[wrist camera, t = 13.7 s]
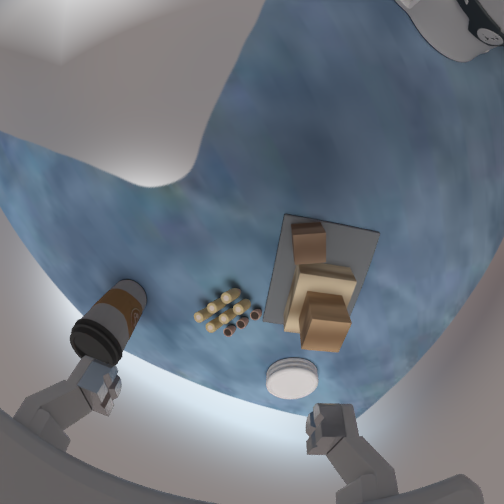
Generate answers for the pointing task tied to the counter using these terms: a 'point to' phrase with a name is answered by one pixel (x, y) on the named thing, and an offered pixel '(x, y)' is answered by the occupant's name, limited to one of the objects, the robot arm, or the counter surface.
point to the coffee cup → (109, 323)
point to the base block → (316, 288)
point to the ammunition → (227, 312)
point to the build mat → (337, 253)
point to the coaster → (291, 378)
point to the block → (308, 243)
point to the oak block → (323, 322)
